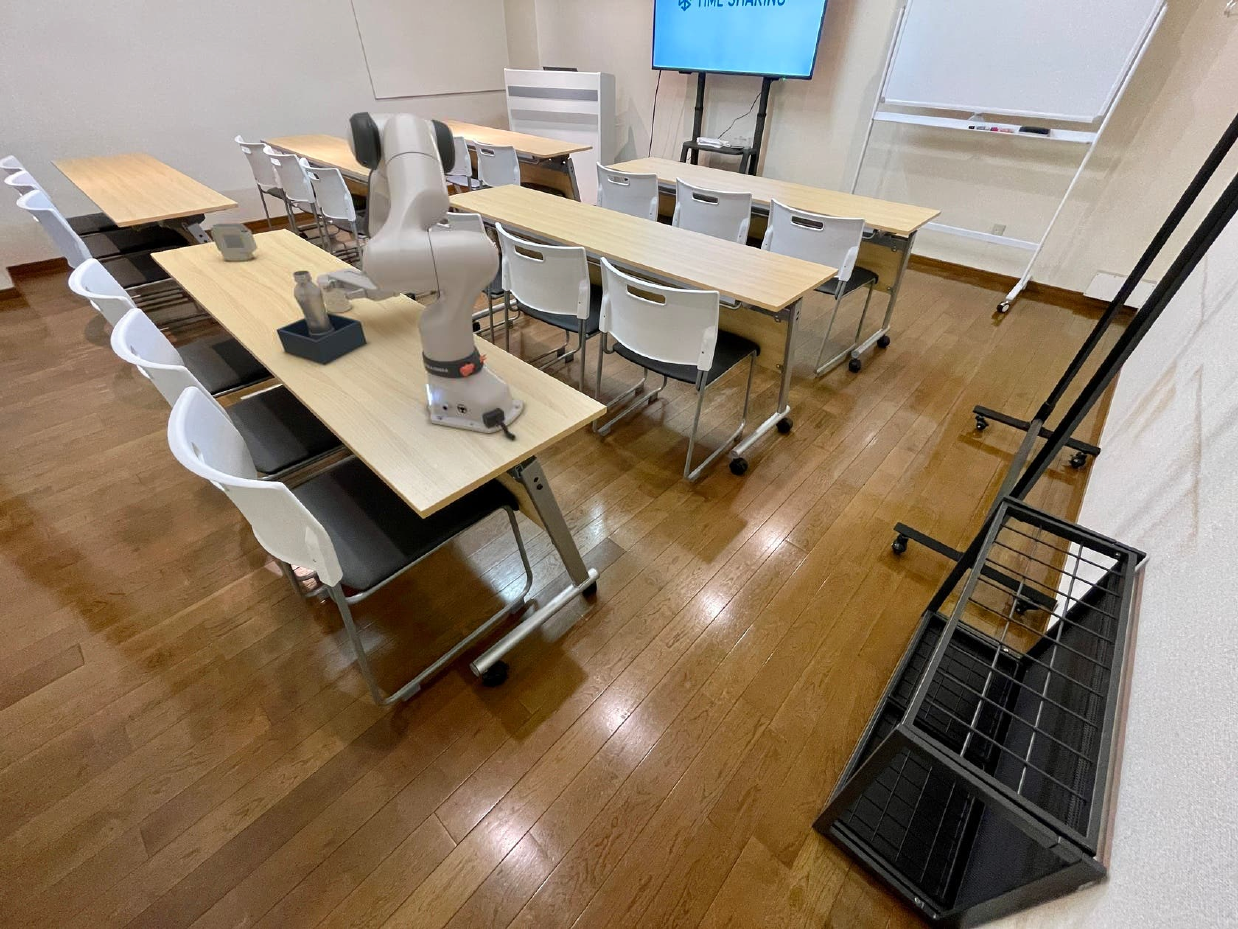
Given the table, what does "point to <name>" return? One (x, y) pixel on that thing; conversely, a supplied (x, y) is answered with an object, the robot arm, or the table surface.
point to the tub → (322, 339)
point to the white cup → (333, 296)
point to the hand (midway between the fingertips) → (335, 292)
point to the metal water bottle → (312, 305)
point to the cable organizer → (233, 241)
